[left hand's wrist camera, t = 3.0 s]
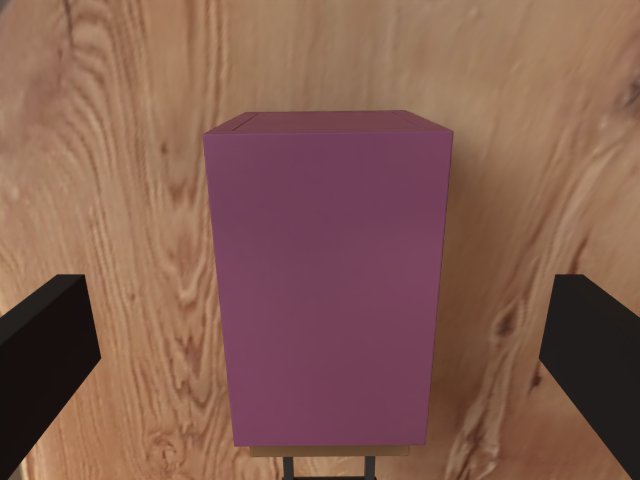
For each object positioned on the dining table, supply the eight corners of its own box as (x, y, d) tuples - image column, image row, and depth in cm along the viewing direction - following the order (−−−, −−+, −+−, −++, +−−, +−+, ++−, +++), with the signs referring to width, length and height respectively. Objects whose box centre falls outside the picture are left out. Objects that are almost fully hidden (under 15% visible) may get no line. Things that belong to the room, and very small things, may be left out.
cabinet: (394, 335, 34) (425, 445, 24) (259, 336, 34) (233, 447, 24) (406, 110, 28) (453, 130, 18) (244, 112, 28) (202, 133, 18)
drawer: (384, 421, 36) (403, 525, 27) (270, 422, 36) (256, 526, 28) (397, 162, 28) (428, 199, 20) (254, 164, 29) (228, 201, 20)
